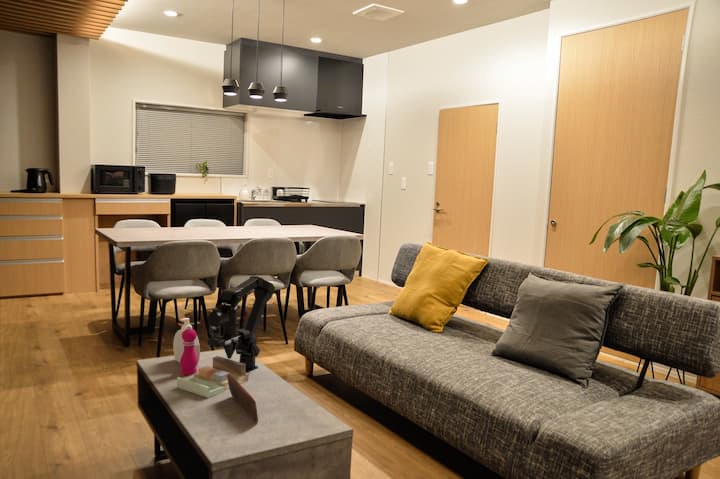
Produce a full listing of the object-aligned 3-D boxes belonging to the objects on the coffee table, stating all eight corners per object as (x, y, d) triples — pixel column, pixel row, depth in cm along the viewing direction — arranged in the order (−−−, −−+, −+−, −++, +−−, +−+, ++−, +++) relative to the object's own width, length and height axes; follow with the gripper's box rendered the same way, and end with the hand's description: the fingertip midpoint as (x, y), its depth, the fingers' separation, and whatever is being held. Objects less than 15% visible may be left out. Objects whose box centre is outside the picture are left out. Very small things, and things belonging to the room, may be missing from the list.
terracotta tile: (207, 372, 222) (207, 366, 221) (215, 374, 219) (215, 368, 219) (198, 375, 218) (198, 369, 218) (206, 377, 215) (206, 371, 215)
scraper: (217, 366, 228) (217, 355, 228) (245, 375, 220) (245, 364, 220) (212, 368, 226) (212, 357, 226) (241, 376, 218) (241, 365, 218)
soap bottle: (172, 359, 244) (172, 315, 242) (183, 357, 247) (183, 314, 245) (188, 369, 232) (189, 323, 230) (200, 366, 236) (200, 321, 234)
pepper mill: (200, 370, 232) (201, 324, 230) (193, 376, 225) (194, 328, 223) (184, 368, 233) (184, 322, 231) (176, 374, 225) (177, 327, 223)
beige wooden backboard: (220, 372, 230) (220, 365, 230) (248, 381, 222) (248, 373, 222) (194, 381, 218) (194, 374, 218) (222, 391, 210) (222, 383, 210)
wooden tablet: (262, 423, 184) (259, 395, 183) (256, 425, 183) (253, 397, 181) (234, 395, 206) (231, 370, 205) (228, 397, 205) (225, 372, 203)
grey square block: (221, 376, 217) (221, 370, 217) (229, 378, 215) (229, 372, 215) (212, 379, 214) (212, 373, 213) (221, 382, 211) (221, 376, 211)
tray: (193, 381, 219) (193, 371, 218) (223, 391, 210) (223, 381, 209) (176, 387, 212) (177, 377, 211) (207, 398, 203) (207, 387, 203)
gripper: (232, 313, 233) (231, 348, 235) (197, 322, 217) (197, 360, 219) (251, 317, 227) (250, 354, 229) (217, 327, 212) (217, 366, 213)
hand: (229, 358), depth 223 cm, fingers closed
